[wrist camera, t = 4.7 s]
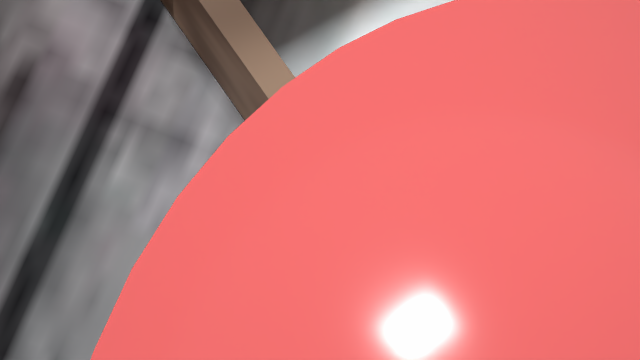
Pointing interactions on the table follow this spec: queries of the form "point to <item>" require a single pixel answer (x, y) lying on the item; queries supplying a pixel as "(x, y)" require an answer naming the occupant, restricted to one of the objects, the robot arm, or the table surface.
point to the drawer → (232, 50)
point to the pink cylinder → (416, 202)
